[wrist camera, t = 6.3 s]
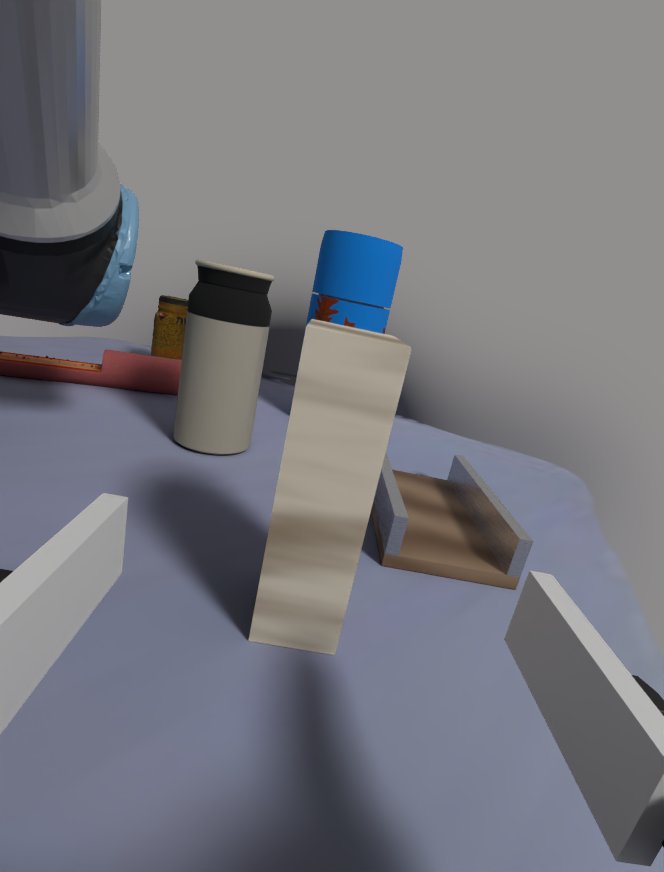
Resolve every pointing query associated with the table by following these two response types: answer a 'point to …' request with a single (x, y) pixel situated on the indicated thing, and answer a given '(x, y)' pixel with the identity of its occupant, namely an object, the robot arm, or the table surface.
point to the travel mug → (222, 359)
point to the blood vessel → (100, 371)
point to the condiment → (169, 328)
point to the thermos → (355, 280)
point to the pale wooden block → (327, 483)
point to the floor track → (448, 527)
